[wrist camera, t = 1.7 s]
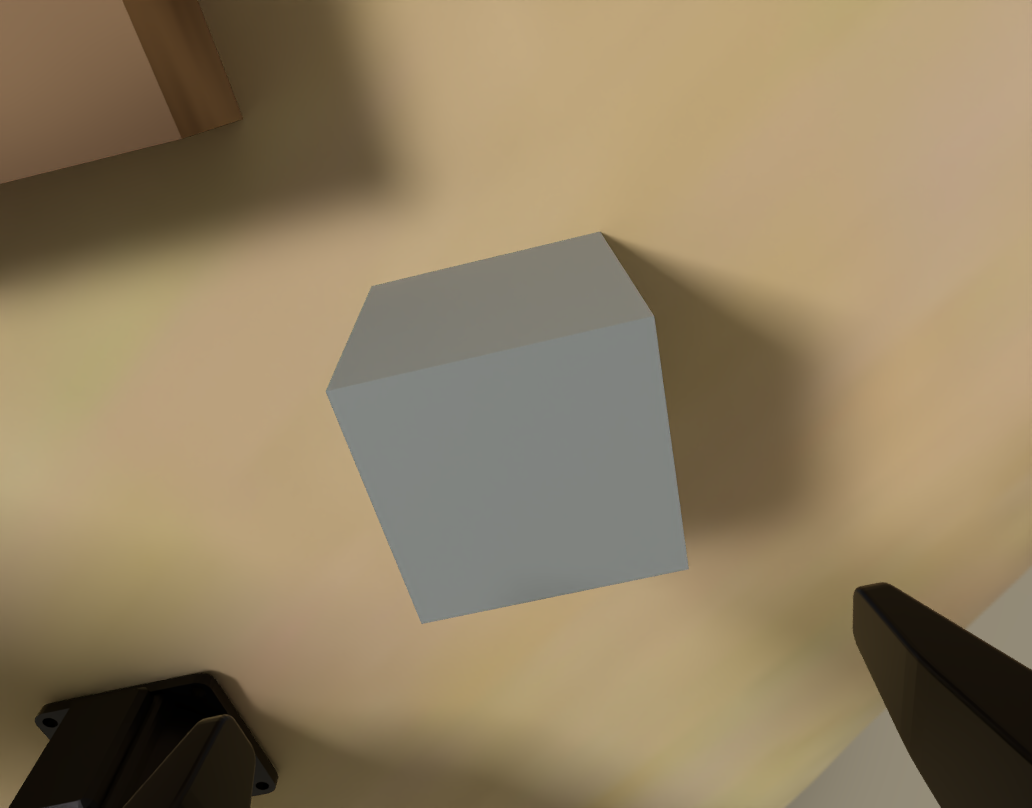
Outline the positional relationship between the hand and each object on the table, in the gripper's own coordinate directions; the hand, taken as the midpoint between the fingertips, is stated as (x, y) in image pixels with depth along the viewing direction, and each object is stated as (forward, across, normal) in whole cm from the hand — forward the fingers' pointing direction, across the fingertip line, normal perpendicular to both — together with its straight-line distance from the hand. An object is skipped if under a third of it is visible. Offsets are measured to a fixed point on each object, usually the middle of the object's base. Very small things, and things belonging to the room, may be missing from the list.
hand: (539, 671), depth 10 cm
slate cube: (+10, 0, 0) cm, 10 cm away
